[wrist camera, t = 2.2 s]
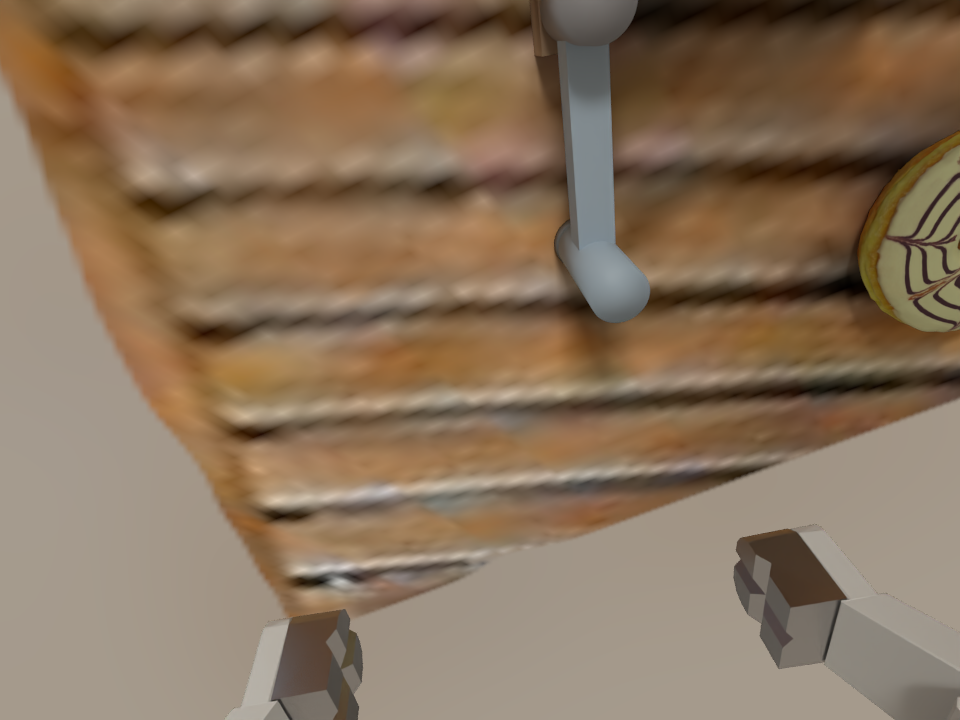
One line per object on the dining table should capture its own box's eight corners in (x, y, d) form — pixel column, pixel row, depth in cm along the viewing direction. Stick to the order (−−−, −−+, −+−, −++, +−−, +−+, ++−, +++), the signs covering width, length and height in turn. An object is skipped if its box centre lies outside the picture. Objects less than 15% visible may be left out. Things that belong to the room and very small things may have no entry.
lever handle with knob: (528, -23, 22) (566, -47, 16) (592, -35, 22) (653, -63, 16) (555, 268, 28) (589, 329, 23) (605, 260, 28) (652, 318, 22)
